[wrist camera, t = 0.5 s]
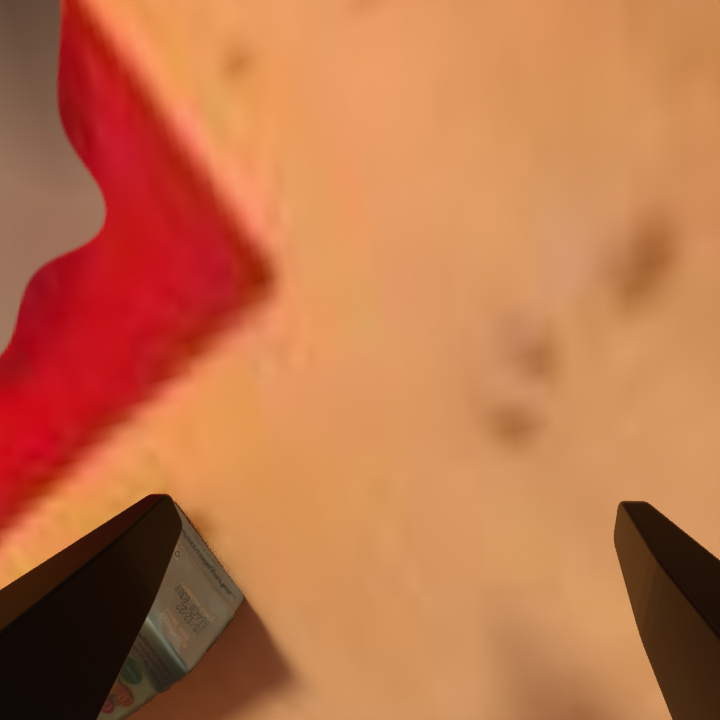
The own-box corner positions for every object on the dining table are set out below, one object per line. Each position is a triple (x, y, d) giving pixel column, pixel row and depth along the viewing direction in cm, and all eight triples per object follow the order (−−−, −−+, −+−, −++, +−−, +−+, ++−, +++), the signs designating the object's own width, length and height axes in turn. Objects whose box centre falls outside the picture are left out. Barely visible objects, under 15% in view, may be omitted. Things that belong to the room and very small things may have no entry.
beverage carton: (256, 600, 26) (184, 693, 19) (70, 733, 31) (-35, 842, 24) (176, 492, 26) (82, 548, 20) (7, 639, 31) (-112, 721, 25)
